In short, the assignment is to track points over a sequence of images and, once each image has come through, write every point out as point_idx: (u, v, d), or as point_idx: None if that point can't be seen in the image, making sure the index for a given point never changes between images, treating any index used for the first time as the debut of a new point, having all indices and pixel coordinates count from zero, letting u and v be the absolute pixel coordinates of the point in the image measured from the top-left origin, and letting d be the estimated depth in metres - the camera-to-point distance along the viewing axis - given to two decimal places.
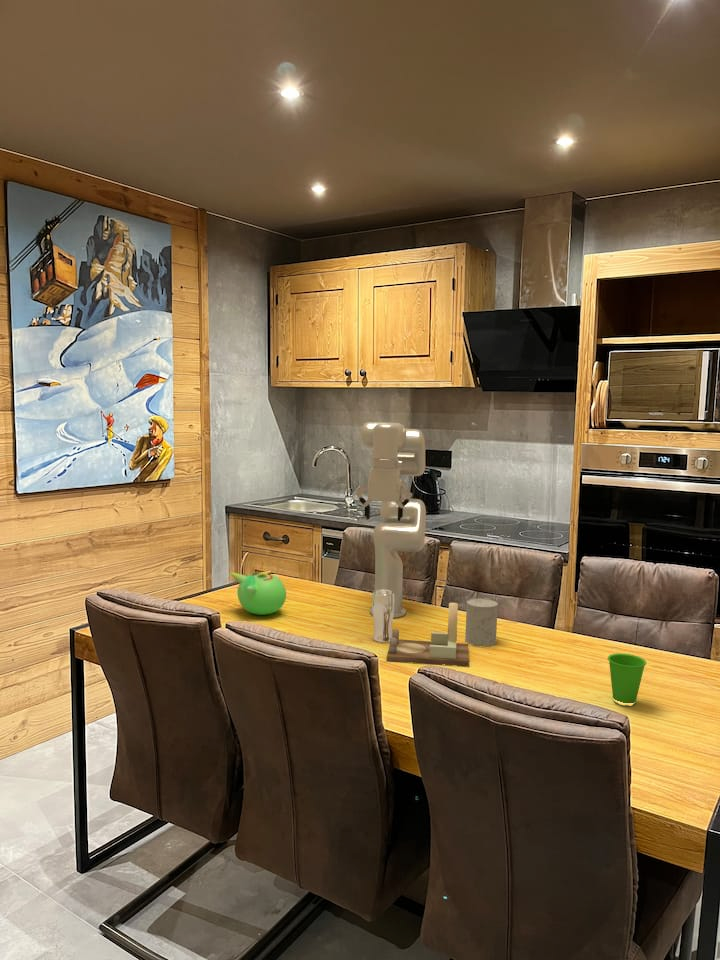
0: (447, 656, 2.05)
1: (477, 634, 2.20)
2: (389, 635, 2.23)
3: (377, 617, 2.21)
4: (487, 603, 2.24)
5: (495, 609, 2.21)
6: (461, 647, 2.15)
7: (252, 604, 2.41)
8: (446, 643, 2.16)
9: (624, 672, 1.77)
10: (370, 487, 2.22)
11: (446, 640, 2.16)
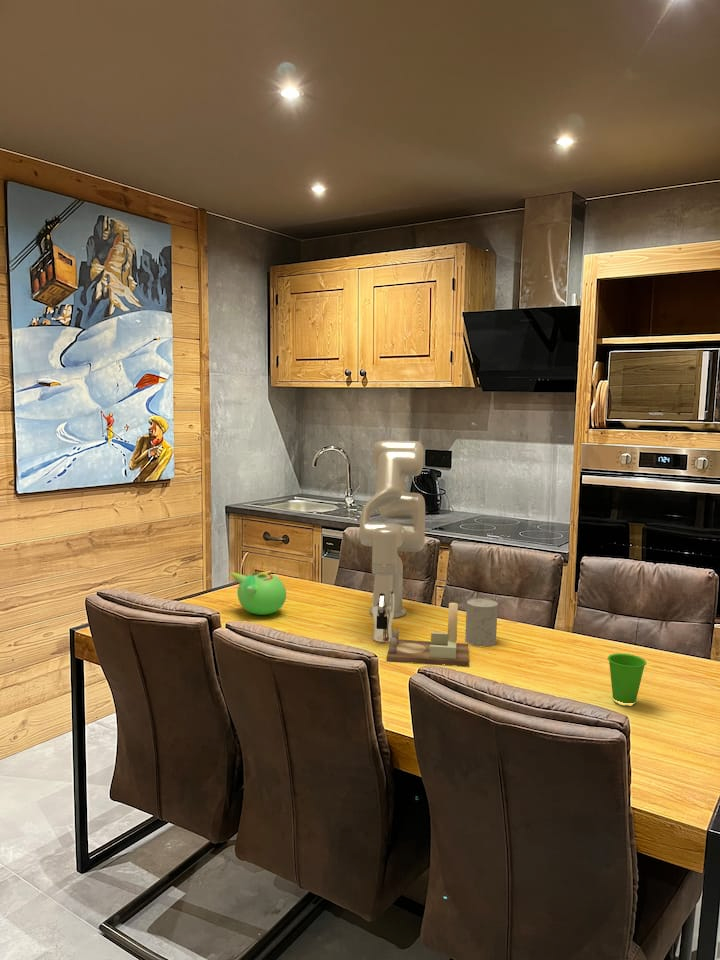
0: (447, 656, 2.05)
1: (477, 634, 2.20)
2: (389, 635, 2.23)
3: None
4: (487, 603, 2.24)
5: (495, 609, 2.21)
6: (461, 647, 2.15)
7: (253, 604, 2.41)
8: (446, 643, 2.16)
9: (624, 672, 1.77)
10: (389, 594, 2.19)
11: (446, 640, 2.16)
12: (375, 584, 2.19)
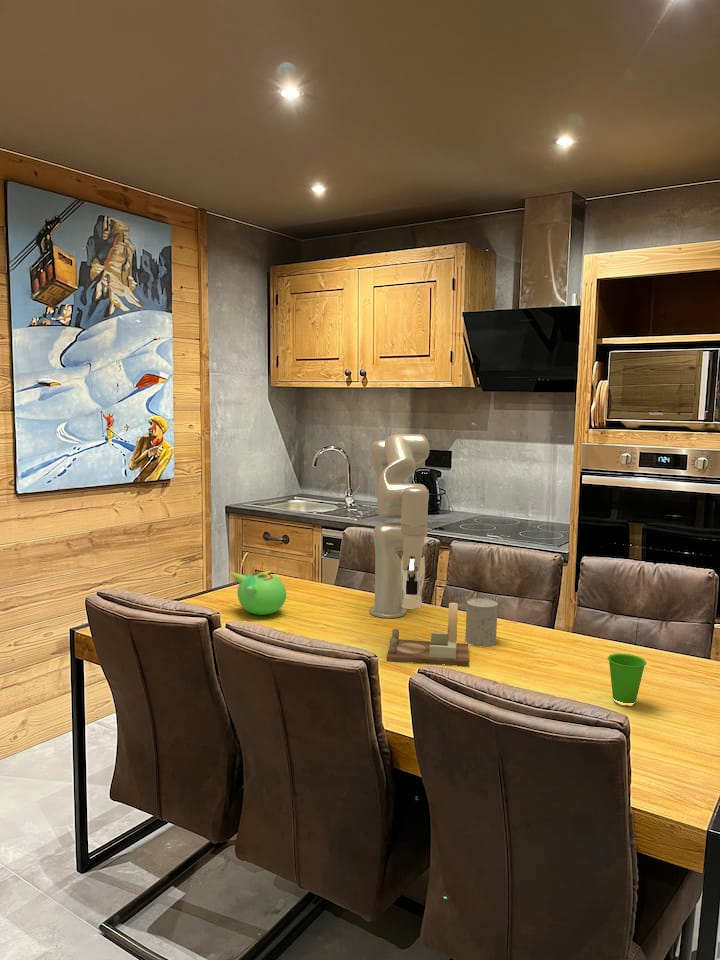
0: (447, 656, 2.05)
1: (477, 634, 2.20)
2: (419, 601, 2.09)
3: None
4: (487, 603, 2.24)
5: (495, 609, 2.21)
6: (461, 647, 2.15)
7: (253, 604, 2.41)
8: (446, 643, 2.16)
9: (624, 672, 1.77)
10: (420, 557, 2.05)
11: (446, 640, 2.16)
12: (405, 546, 2.05)
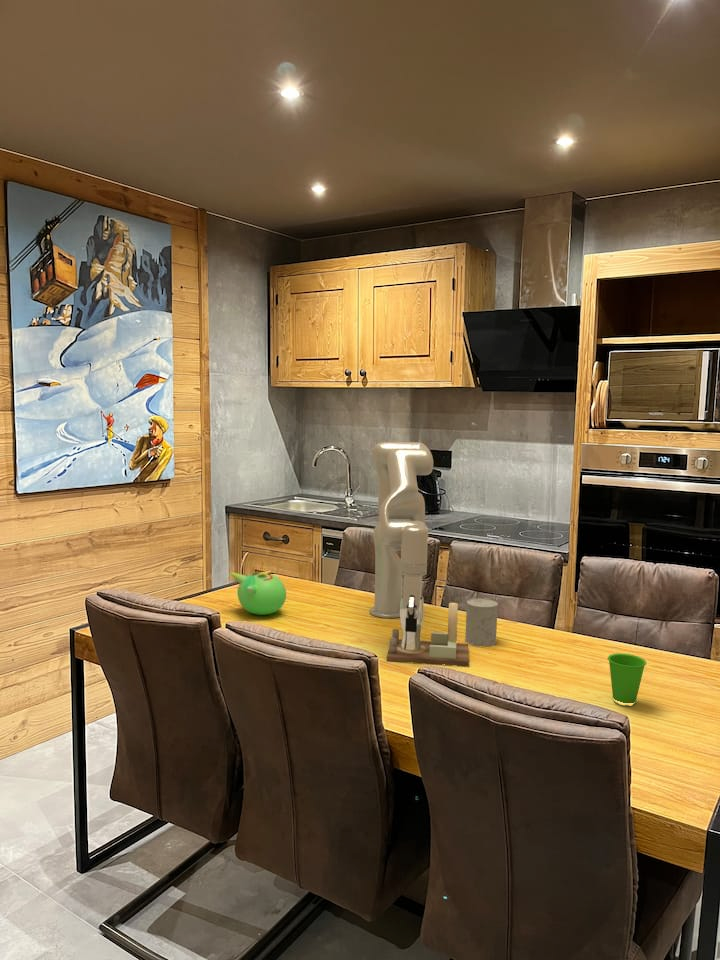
0: (447, 656, 2.05)
1: (477, 634, 2.20)
2: (418, 643, 2.11)
3: None
4: (487, 603, 2.24)
5: (495, 609, 2.21)
6: (461, 647, 2.15)
7: (253, 604, 2.41)
8: (446, 643, 2.16)
9: (624, 672, 1.77)
10: (419, 596, 2.06)
11: (446, 640, 2.16)
12: (404, 585, 2.06)
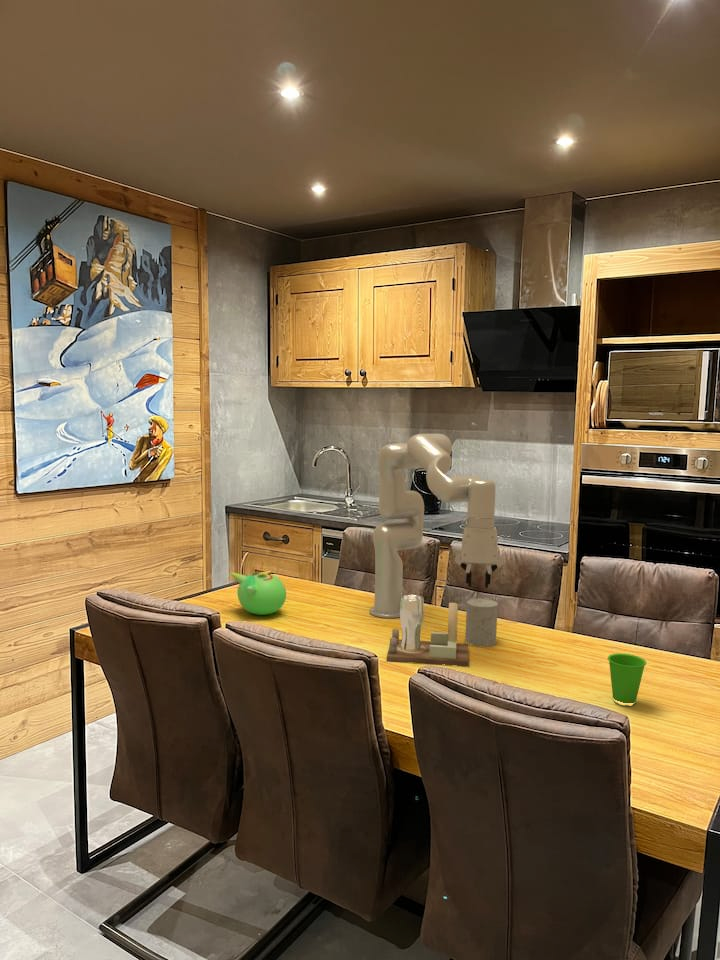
0: (447, 656, 2.05)
1: (477, 634, 2.20)
2: (418, 643, 2.11)
3: (406, 624, 2.09)
4: (487, 603, 2.24)
5: (495, 609, 2.21)
6: (461, 647, 2.15)
7: (253, 604, 2.41)
8: (446, 643, 2.16)
9: (624, 672, 1.77)
10: None
11: (446, 640, 2.16)
12: (496, 539, 2.04)
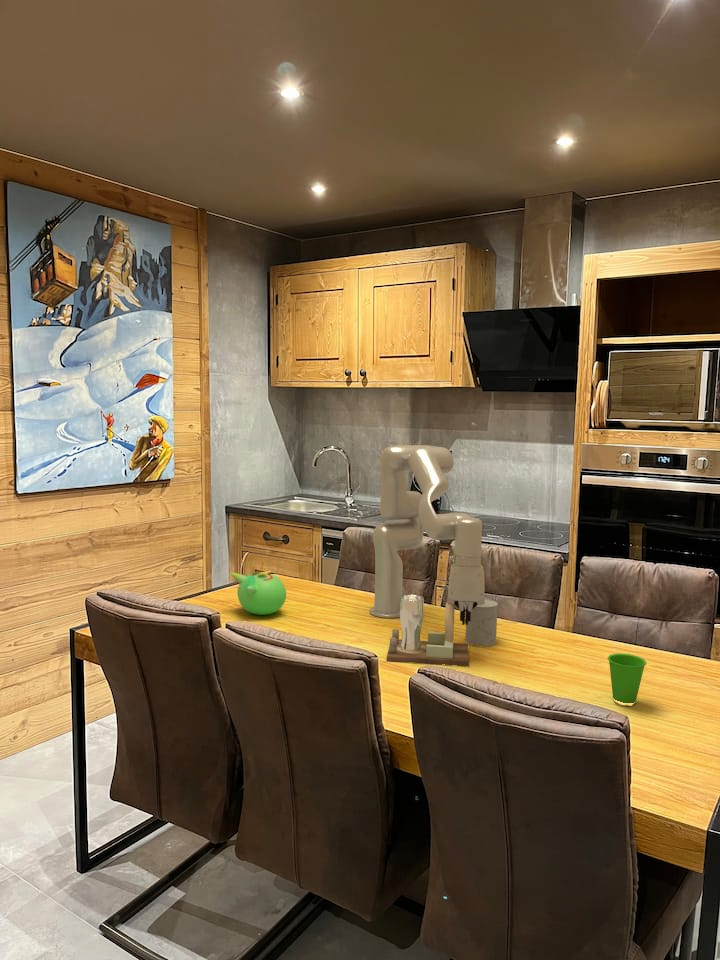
0: (444, 656, 2.05)
1: (477, 634, 2.20)
2: (418, 643, 2.11)
3: (406, 625, 2.09)
4: (487, 603, 2.24)
5: (495, 609, 2.21)
6: (461, 647, 2.15)
7: (253, 604, 2.41)
8: (443, 643, 2.16)
9: (624, 672, 1.77)
10: None
11: (443, 640, 2.16)
12: (483, 577, 2.05)
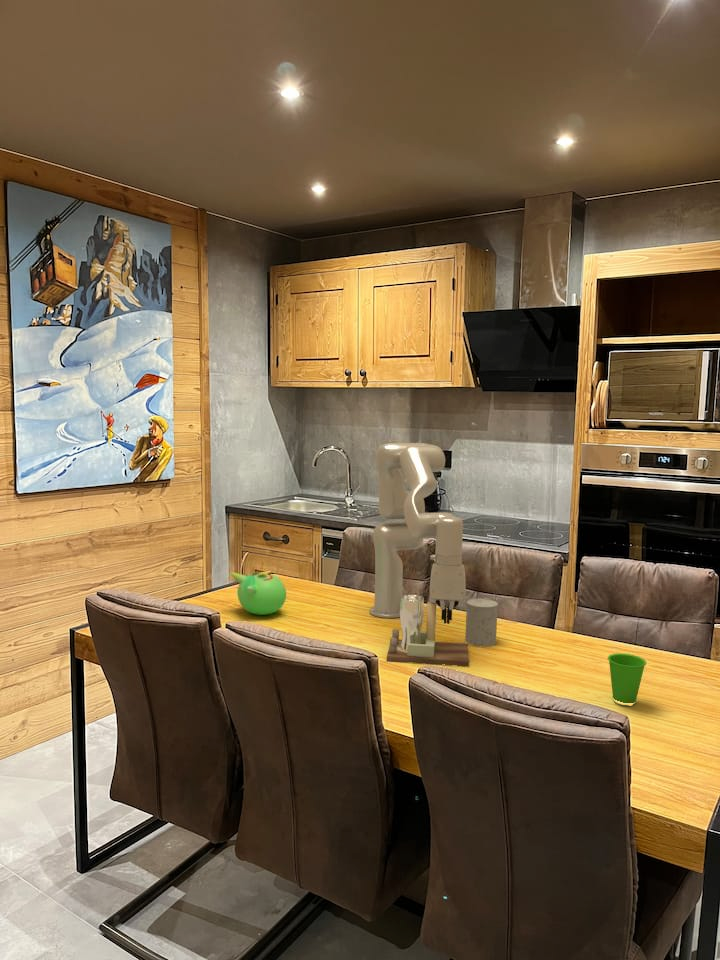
0: (425, 655, 2.06)
1: (477, 634, 2.20)
2: (418, 643, 2.11)
3: (406, 625, 2.09)
4: (487, 603, 2.24)
5: (495, 609, 2.21)
6: (461, 647, 2.15)
7: (253, 604, 2.41)
8: (425, 642, 2.17)
9: (624, 672, 1.77)
10: None
11: (425, 639, 2.17)
12: (464, 576, 2.06)
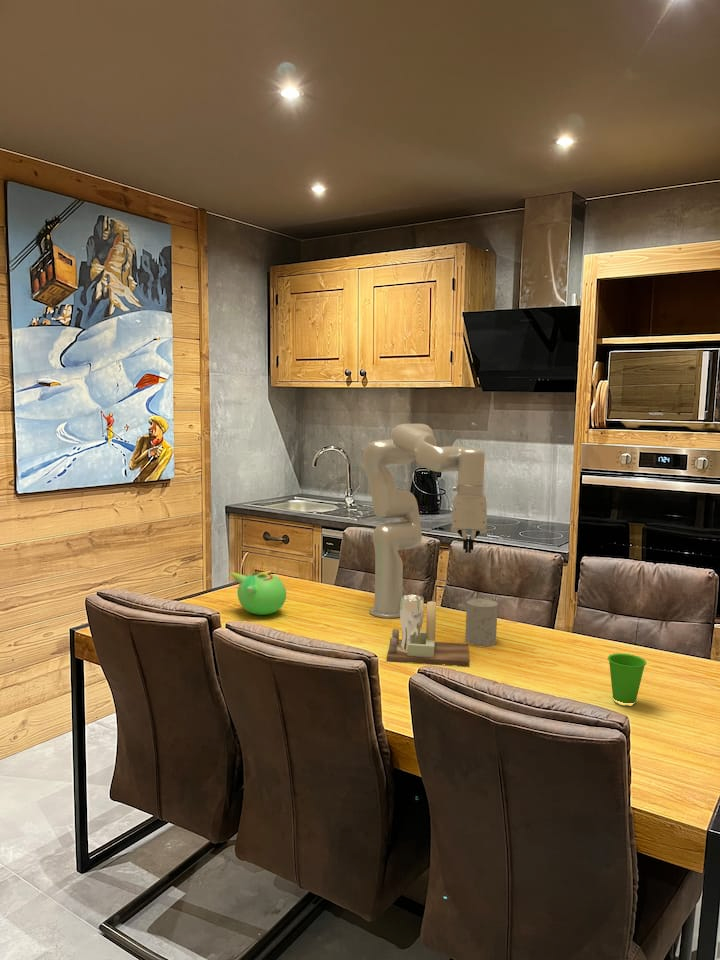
0: (425, 655, 2.06)
1: (477, 634, 2.20)
2: (418, 643, 2.11)
3: (406, 624, 2.09)
4: (487, 603, 2.24)
5: (495, 609, 2.21)
6: (461, 647, 2.15)
7: (253, 604, 2.41)
8: (425, 642, 2.17)
9: (624, 672, 1.77)
10: None
11: (425, 639, 2.17)
12: (485, 506, 2.12)
